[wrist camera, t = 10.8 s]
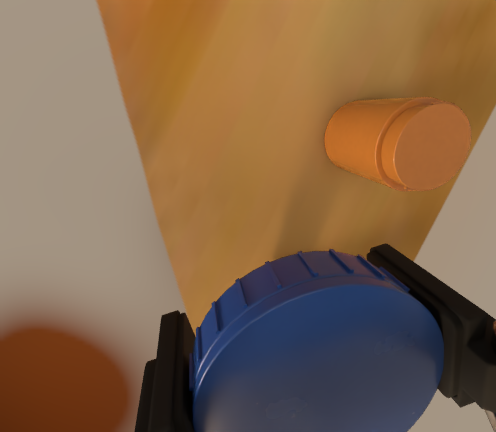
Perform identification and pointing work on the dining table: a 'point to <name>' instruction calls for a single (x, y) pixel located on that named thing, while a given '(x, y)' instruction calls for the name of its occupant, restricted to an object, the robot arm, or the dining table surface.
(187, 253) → the dining table surface
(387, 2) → the dining table surface
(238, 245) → the dining table surface
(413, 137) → the jar
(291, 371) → the lid
